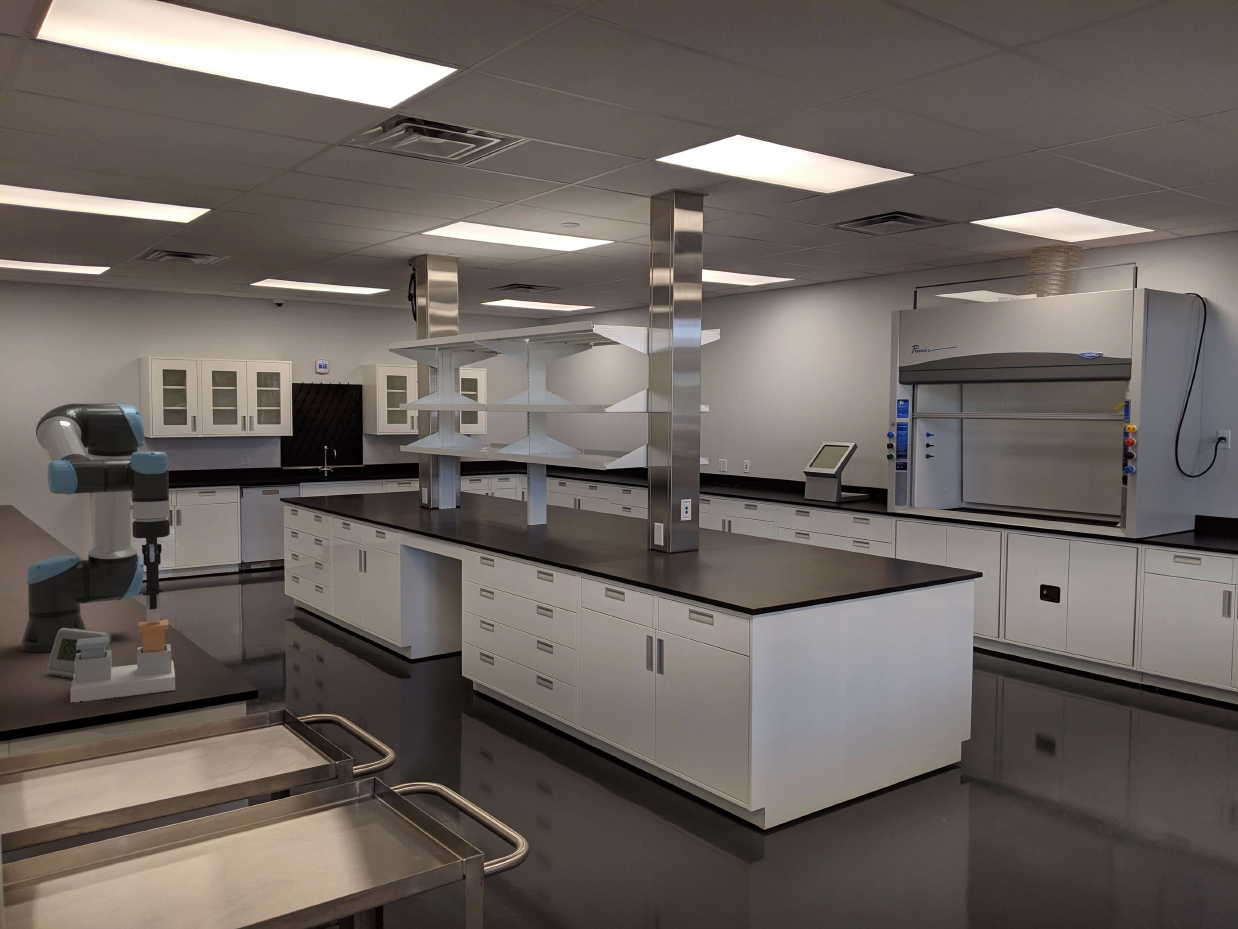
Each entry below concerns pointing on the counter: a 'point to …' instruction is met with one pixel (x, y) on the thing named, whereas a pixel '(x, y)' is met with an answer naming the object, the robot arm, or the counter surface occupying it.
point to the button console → (122, 676)
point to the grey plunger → (92, 647)
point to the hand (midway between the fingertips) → (153, 622)
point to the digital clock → (69, 650)
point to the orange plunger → (153, 635)
